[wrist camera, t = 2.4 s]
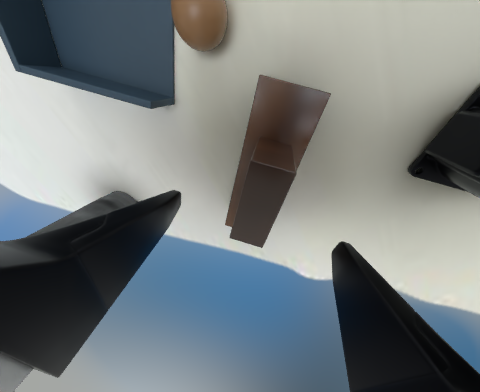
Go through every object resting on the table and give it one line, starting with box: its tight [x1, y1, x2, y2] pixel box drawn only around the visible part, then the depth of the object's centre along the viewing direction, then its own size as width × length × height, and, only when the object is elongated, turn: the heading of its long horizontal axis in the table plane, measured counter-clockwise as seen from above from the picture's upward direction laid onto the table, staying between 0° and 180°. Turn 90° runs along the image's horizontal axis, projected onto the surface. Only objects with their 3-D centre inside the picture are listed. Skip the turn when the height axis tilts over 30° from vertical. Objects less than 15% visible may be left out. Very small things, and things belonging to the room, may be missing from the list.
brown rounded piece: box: [171, 0, 227, 51], centre depth 10 cm, size 3×3×3 cm
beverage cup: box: [27, 191, 137, 237], centre depth 15 cm, size 7×7×20 cm
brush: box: [225, 75, 331, 248], centre depth 13 cm, size 4×13×7 cm, turn 168°
